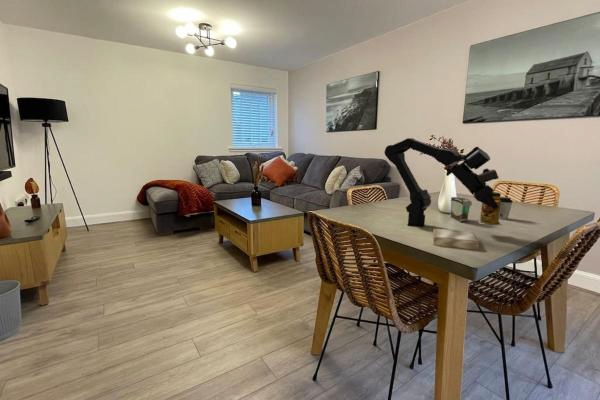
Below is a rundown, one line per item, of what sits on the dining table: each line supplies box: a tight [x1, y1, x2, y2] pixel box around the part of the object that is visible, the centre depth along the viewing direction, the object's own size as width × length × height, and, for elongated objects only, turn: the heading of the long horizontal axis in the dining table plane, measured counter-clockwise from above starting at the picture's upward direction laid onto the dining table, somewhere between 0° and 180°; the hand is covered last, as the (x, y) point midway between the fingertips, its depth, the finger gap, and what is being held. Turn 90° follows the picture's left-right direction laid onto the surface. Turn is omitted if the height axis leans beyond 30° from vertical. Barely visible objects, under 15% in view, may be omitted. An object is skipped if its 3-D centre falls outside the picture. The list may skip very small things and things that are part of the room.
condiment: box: [476, 191, 502, 226], centre depth 114 cm, size 7×8×12 cm
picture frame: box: [432, 228, 480, 251], centre depth 109 cm, size 14×12×3 cm
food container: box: [450, 196, 473, 223], centre depth 139 cm, size 12×6×10 cm, turn 179°
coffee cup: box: [499, 196, 513, 221], centre depth 141 cm, size 7×7×10 cm
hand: (495, 206), depth 113 cm, fingers closed on condiment, 6 cm apart
